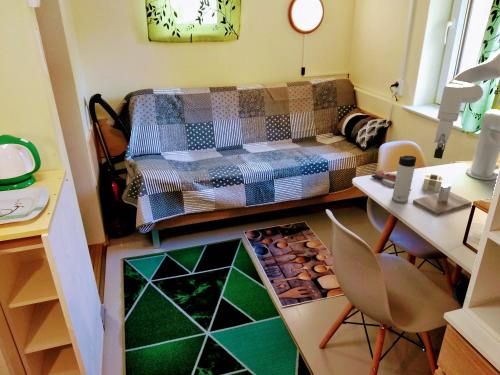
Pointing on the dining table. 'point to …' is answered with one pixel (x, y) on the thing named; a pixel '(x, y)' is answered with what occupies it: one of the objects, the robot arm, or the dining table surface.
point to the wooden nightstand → (432, 182)
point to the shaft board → (442, 202)
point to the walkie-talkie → (385, 178)
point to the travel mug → (403, 179)
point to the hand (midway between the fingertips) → (438, 154)
